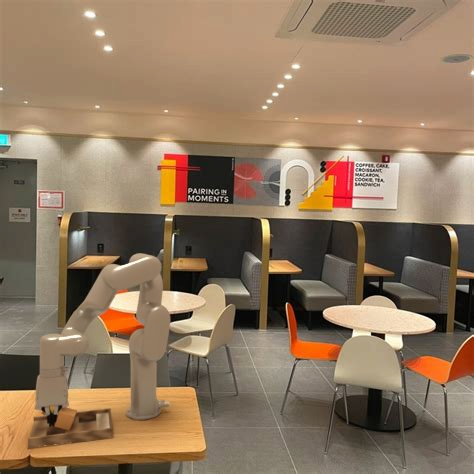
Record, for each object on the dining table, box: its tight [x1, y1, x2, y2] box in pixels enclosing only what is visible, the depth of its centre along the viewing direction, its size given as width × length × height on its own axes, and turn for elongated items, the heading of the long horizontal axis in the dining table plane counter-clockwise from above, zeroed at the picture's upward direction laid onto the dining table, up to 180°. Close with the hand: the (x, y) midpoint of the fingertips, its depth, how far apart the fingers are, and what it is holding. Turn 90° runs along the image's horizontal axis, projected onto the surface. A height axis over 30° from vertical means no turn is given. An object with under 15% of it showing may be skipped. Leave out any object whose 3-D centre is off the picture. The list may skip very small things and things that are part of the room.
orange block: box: [55, 407, 78, 430], centre depth 159 cm, size 5×5×5 cm
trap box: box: [27, 407, 114, 450], centre depth 160 cm, size 26×17×3 cm, turn 108°
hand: (52, 424), depth 158 cm, fingers closed
